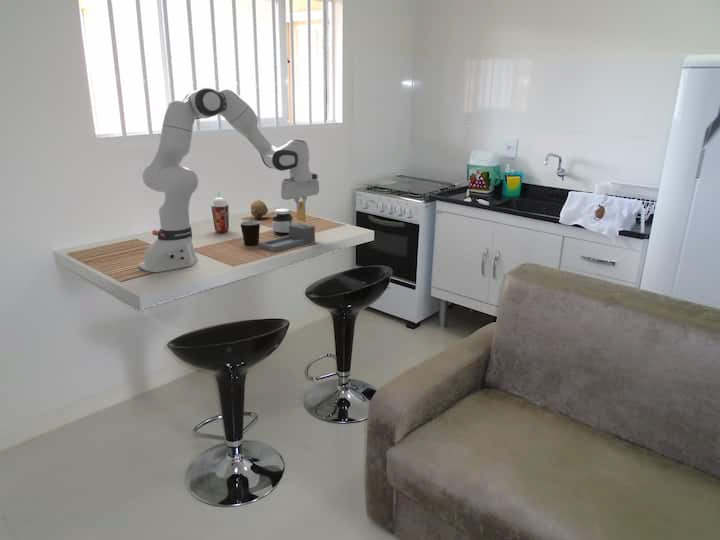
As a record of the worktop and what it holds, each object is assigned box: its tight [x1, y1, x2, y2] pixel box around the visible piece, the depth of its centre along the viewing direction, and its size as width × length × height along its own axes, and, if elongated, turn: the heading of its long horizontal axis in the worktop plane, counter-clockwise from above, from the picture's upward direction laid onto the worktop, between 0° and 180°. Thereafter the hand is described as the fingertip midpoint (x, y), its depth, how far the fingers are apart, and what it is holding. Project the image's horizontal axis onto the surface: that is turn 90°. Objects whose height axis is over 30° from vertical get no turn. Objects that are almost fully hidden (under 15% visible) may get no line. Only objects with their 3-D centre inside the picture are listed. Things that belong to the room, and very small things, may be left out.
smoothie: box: [210, 191, 230, 234], centre depth 262 cm, size 8×8×20 cm
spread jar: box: [272, 208, 294, 236], centre depth 262 cm, size 12×11×12 cm
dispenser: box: [259, 222, 316, 253], centre depth 242 cm, size 24×10×8 cm, turn 138°
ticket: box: [296, 200, 307, 223], centre depth 245 cm, size 1×5×9 cm, turn 47°
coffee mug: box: [240, 220, 261, 247], centre depth 243 cm, size 12×9×10 cm
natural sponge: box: [250, 199, 269, 219], centre depth 292 cm, size 9×9×10 cm
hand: (300, 206), depth 245 cm, fingers closed on ticket, 1 cm apart
